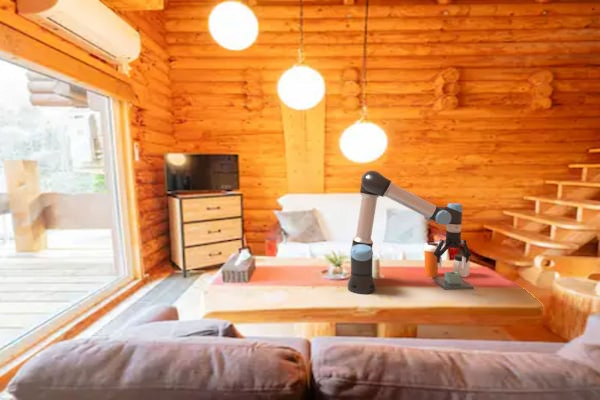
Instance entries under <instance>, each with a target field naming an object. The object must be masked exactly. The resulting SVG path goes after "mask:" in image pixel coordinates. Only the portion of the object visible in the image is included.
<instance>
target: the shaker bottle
mask: <svg viewBox="0 0 600 400" xmlns="http://www.w3.org/2000/svg"><path fill="white" fill-rule="evenodd" d="M438 245H439V243H437V242H431V241H428V242H425V244H424V247H423V251H424V275H425V277H426V276H427V277H430V278H432V277H438V274H439V273H438V272H439V268H438V263H437V256H435V255H433V254H434V252H435V250H436V248H437V247H438Z"/></svg>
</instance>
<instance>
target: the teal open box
mask: <svg viewBox="0 0 600 400" xmlns="http://www.w3.org/2000/svg"><path fill="white" fill-rule="evenodd" d="M444 277H445V281H447V282H448V283H449V284H460V282H461V278H462V277H461V275H460V274H459V273H457V272H456V271H452V270H451V271H450V270H449V271H444Z"/></svg>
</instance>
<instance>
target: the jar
mask: <svg viewBox="0 0 600 400" xmlns="http://www.w3.org/2000/svg"><path fill="white" fill-rule="evenodd" d="M462 256H463V254H462V253H456V254H454V256H453V258H454V259H453V263H452V264H453V265H452V266H453V269H452V270H453V271H456V272H457V273H459V274H460V275H461V278H467V276H468V277H470V263H471V262H470V261H471V260H470V257H469V258H467V263H466V266H465V269H463V268H462Z"/></svg>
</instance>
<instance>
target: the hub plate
mask: <svg viewBox="0 0 600 400" xmlns="http://www.w3.org/2000/svg"><path fill="white" fill-rule="evenodd" d="M431 280H432V281H433V282H434V283H436V284H437V285H438V286H439V287H440V288H441V289H443V290H446V291H447V290H449V291H450V290H452V291H454V290H455V291H456V290H474V285H472V284H471V283H469V282H468V281H467V280H465V279H463V277H461V282H460V284H449V283H448V282H447V281H445V276H436V277H431Z"/></svg>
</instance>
